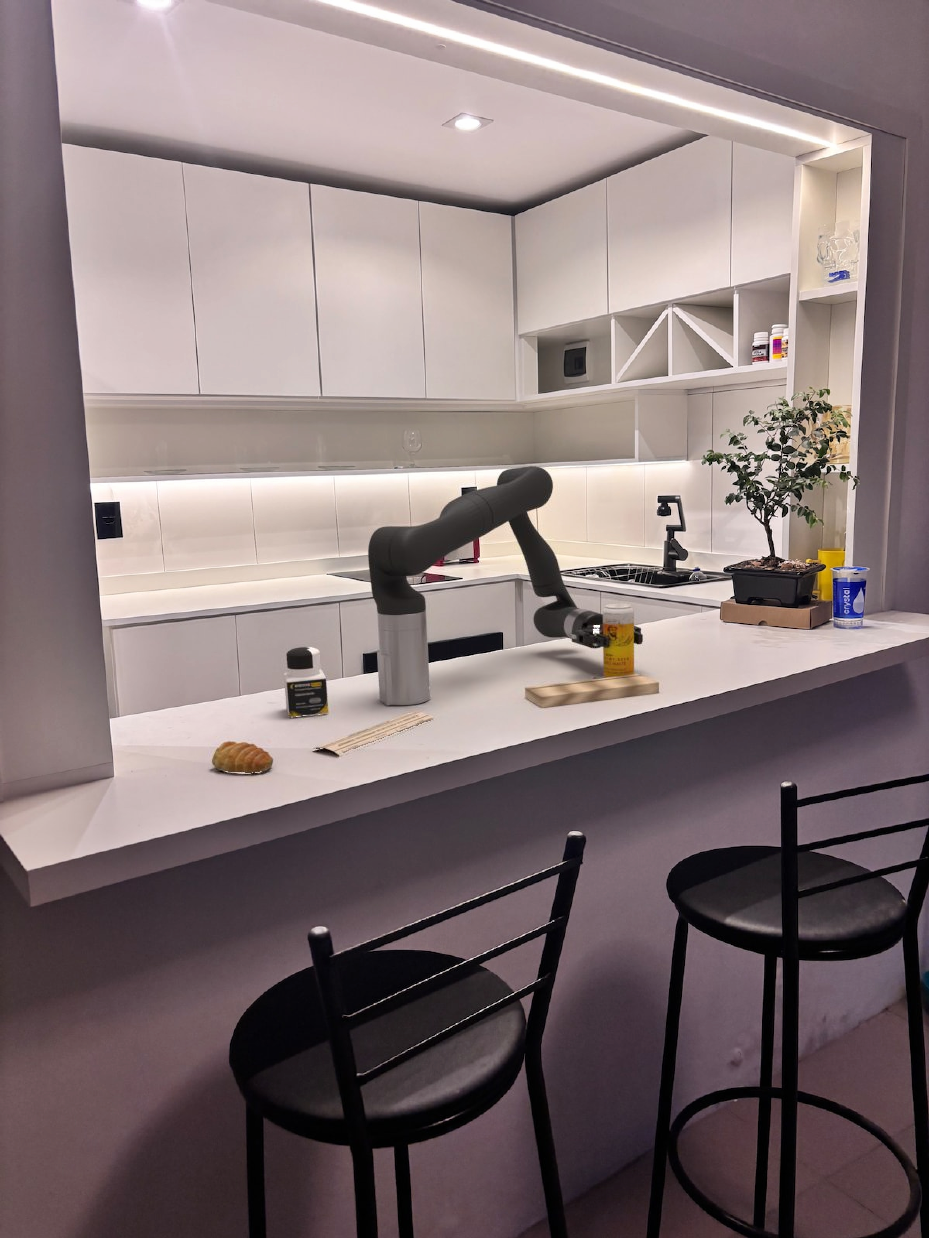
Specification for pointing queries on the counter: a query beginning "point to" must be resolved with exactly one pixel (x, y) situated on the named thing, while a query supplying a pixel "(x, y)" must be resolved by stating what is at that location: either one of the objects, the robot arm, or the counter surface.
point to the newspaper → (377, 732)
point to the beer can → (618, 640)
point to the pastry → (241, 758)
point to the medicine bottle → (305, 683)
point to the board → (591, 690)
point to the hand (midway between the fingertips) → (624, 640)
